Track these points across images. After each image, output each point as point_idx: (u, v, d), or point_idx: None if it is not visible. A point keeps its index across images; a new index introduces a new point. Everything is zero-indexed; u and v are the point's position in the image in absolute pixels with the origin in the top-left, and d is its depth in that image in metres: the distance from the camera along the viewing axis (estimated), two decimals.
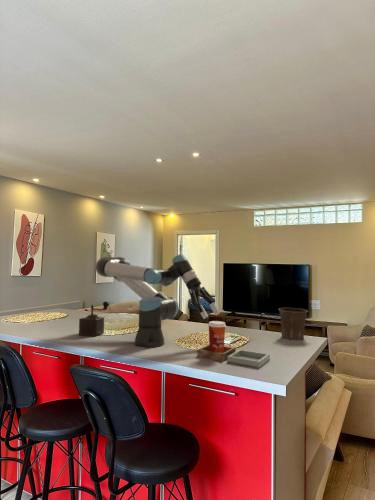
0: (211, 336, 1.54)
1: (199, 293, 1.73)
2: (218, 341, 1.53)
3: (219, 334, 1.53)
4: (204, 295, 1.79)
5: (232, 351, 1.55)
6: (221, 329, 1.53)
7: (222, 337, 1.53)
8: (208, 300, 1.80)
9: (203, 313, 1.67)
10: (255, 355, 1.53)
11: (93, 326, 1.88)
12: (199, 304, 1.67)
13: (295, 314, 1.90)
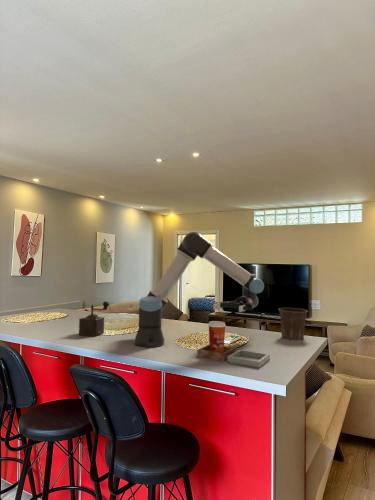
0: (211, 336, 1.54)
1: None
2: (218, 341, 1.53)
3: (219, 334, 1.53)
4: (230, 306, 1.77)
5: (232, 351, 1.55)
6: (221, 329, 1.53)
7: (222, 337, 1.53)
8: (223, 305, 1.76)
9: (242, 308, 1.64)
10: (255, 355, 1.53)
11: (93, 326, 1.88)
12: None
13: (295, 314, 1.90)
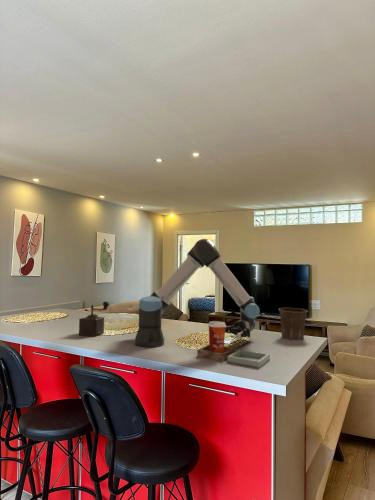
0: (211, 336, 1.54)
1: None
2: (218, 341, 1.53)
3: (219, 334, 1.53)
4: (227, 331, 1.73)
5: (232, 351, 1.55)
6: (221, 329, 1.53)
7: (222, 337, 1.53)
8: None
9: (240, 336, 1.59)
10: (255, 355, 1.53)
11: (93, 326, 1.88)
12: None
13: (295, 314, 1.90)
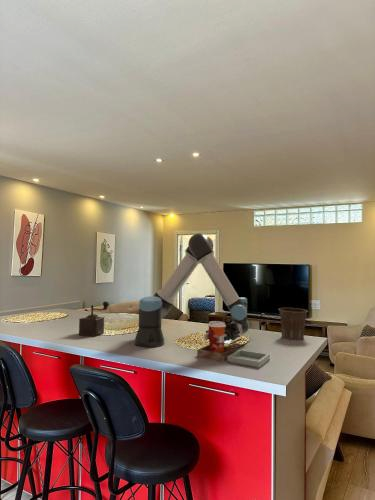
0: (211, 336, 1.54)
1: None
2: (218, 341, 1.53)
3: (219, 334, 1.53)
4: None
5: (232, 351, 1.55)
6: (221, 329, 1.53)
7: None
8: None
9: (223, 339, 1.52)
10: (255, 355, 1.53)
11: (93, 326, 1.88)
12: None
13: (295, 314, 1.90)
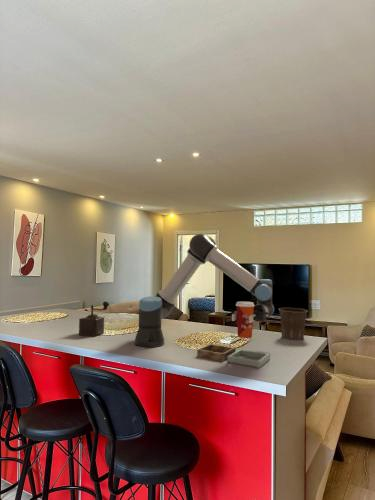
0: (239, 316, 1.48)
1: None
2: (247, 322, 1.47)
3: (248, 313, 1.47)
4: None
5: (232, 351, 1.55)
6: (250, 309, 1.47)
7: None
8: None
9: (252, 319, 1.46)
10: (255, 355, 1.53)
11: (93, 326, 1.88)
12: (257, 320, 1.49)
13: (295, 314, 1.90)
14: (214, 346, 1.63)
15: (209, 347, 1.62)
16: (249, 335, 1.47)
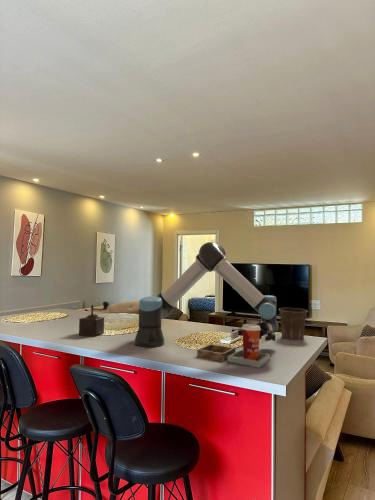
0: (246, 340, 1.46)
1: None
2: (254, 346, 1.45)
3: (255, 337, 1.45)
4: None
5: (232, 351, 1.55)
6: (256, 333, 1.45)
7: (257, 341, 1.45)
8: (241, 332, 1.56)
9: (264, 339, 1.44)
10: None
11: (93, 326, 1.88)
12: (269, 340, 1.47)
13: (295, 314, 1.90)
14: (214, 346, 1.63)
15: (209, 347, 1.62)
16: (255, 359, 1.45)
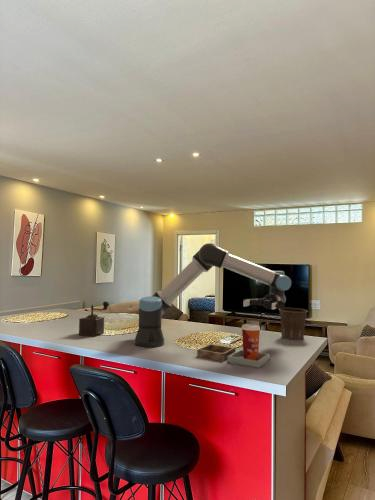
0: (245, 340, 1.46)
1: (272, 306, 1.67)
2: (253, 345, 1.45)
3: (254, 337, 1.45)
4: (259, 303, 1.70)
5: (232, 351, 1.55)
6: (256, 332, 1.45)
7: (257, 341, 1.46)
8: (252, 302, 1.68)
9: (274, 306, 1.56)
10: None
11: (93, 326, 1.88)
12: (279, 307, 1.60)
13: (295, 314, 1.90)
14: (214, 346, 1.63)
15: (209, 347, 1.62)
16: (255, 359, 1.45)
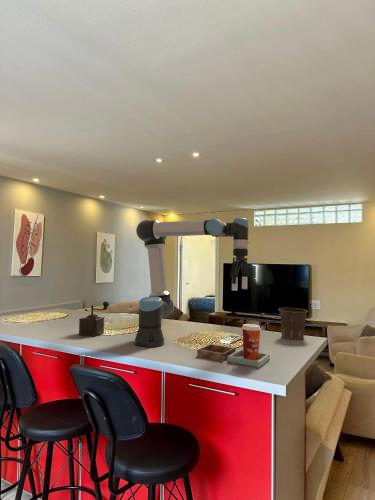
0: (246, 340, 1.46)
1: (241, 265, 1.72)
2: (254, 345, 1.45)
3: (255, 337, 1.45)
4: (243, 267, 1.78)
5: (232, 351, 1.55)
6: (256, 332, 1.45)
7: (257, 341, 1.46)
8: (243, 272, 1.80)
9: (234, 285, 1.69)
10: None
11: (93, 326, 1.88)
12: (236, 276, 1.67)
13: (295, 314, 1.90)
14: (214, 346, 1.63)
15: (209, 347, 1.62)
16: (255, 359, 1.45)
